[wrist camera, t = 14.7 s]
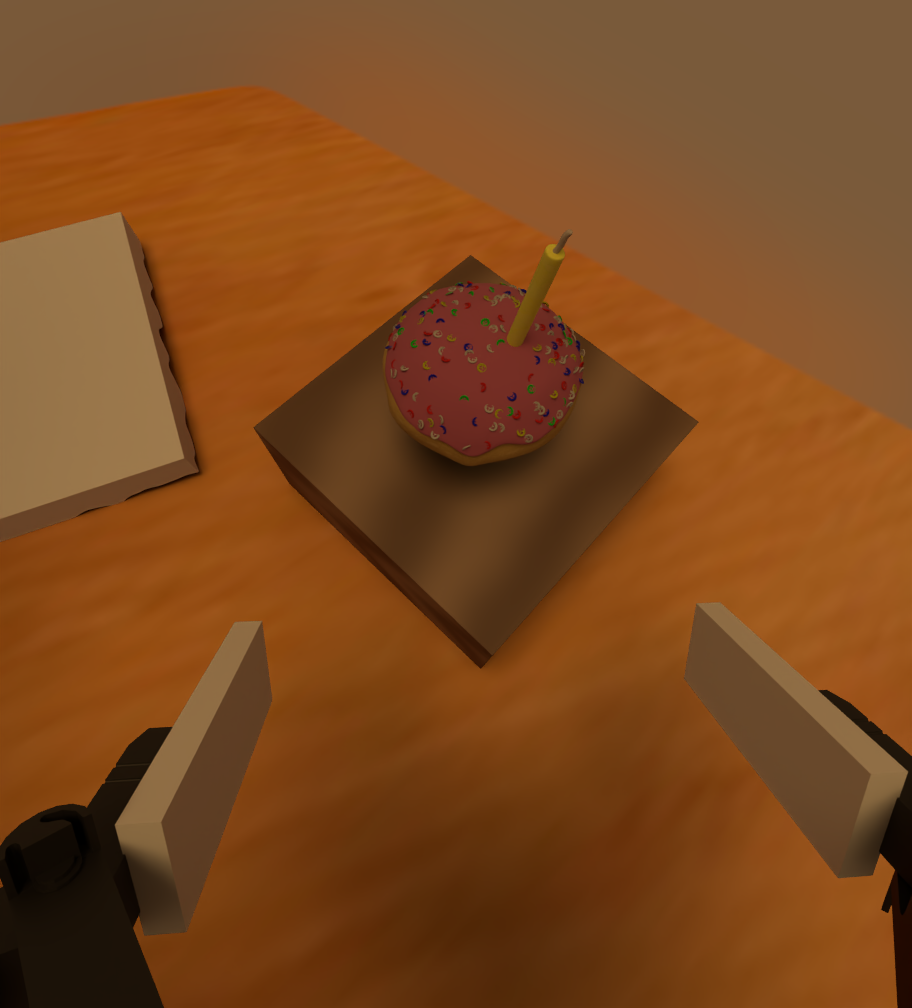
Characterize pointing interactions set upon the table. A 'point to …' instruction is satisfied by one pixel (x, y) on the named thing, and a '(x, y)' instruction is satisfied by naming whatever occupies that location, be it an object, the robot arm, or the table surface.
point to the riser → (469, 485)
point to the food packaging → (82, 377)
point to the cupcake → (484, 368)
